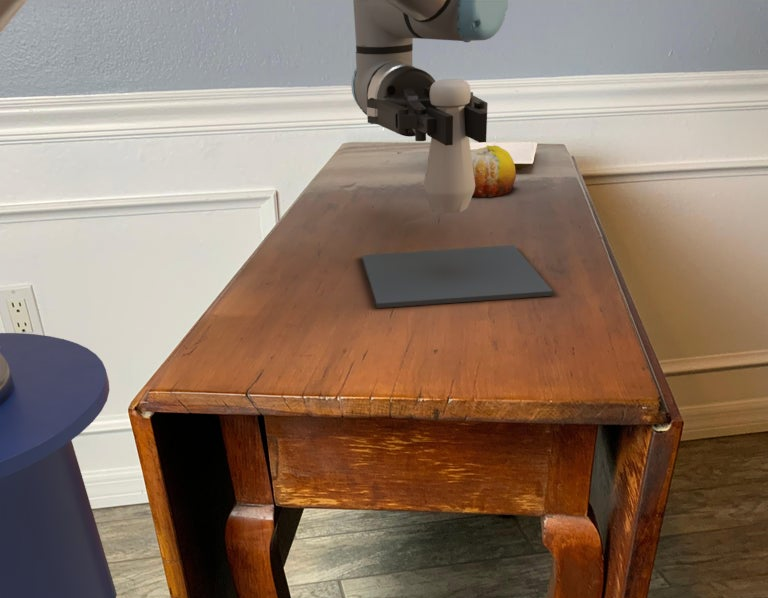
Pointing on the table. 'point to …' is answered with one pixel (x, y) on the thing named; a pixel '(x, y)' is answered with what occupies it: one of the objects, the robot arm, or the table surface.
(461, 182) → the salt shaker
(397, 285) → the center mat
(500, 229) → the table surface
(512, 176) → the fruit
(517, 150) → the plate
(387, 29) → the robot arm
